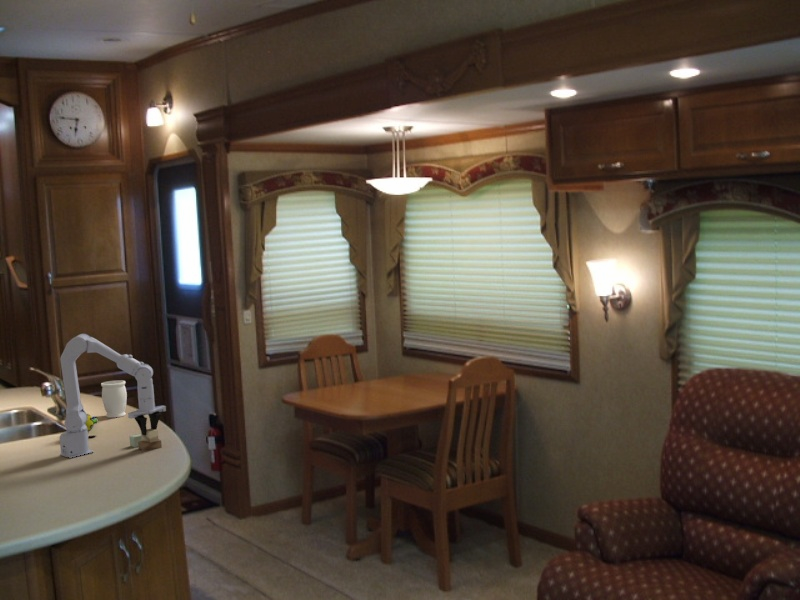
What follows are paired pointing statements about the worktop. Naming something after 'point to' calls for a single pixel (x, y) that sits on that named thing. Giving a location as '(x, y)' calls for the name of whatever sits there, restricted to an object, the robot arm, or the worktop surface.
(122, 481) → the worktop surface
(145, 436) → the maple brick
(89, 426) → the toy
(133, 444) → the sage brick
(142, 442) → the walnut slab
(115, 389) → the jar
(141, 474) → the worktop surface
